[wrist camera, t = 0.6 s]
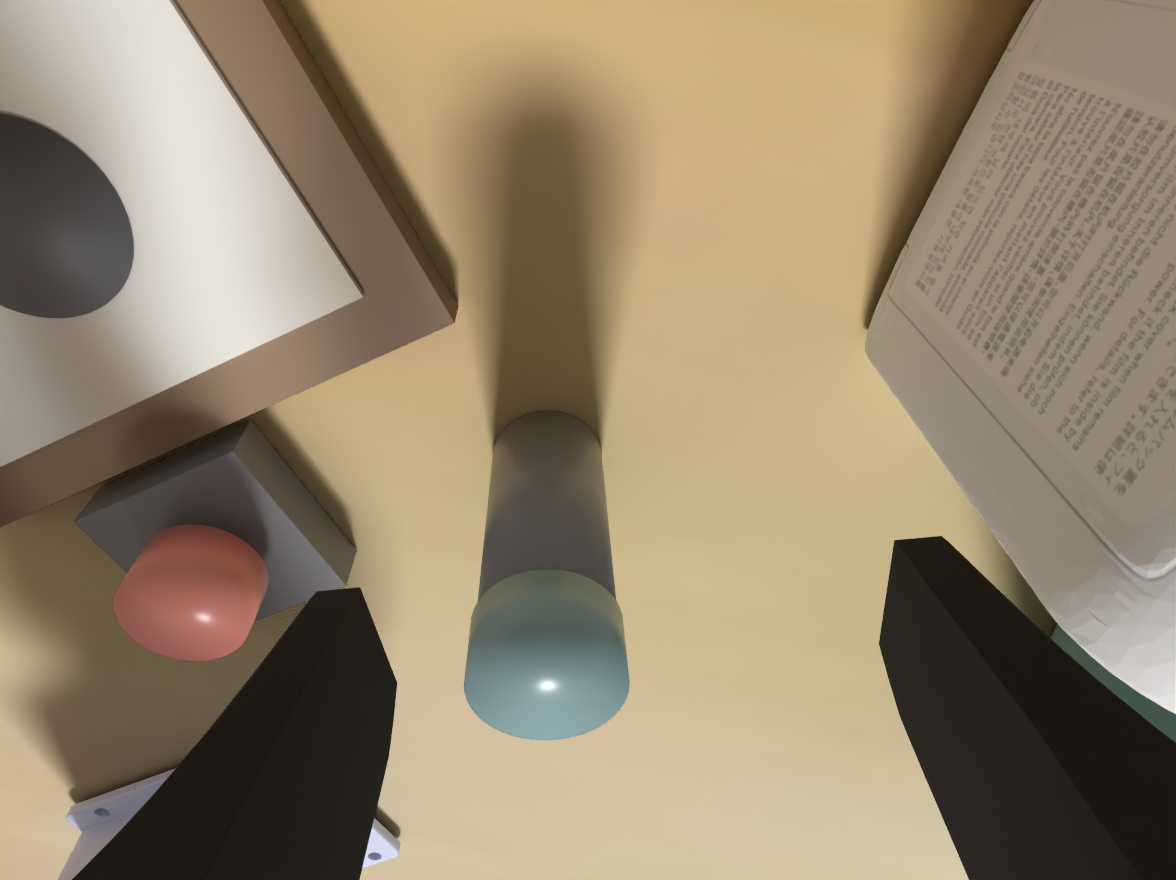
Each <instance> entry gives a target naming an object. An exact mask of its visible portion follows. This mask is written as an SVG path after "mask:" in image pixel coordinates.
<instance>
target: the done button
mask: <svg viewBox="0 0 1176 880" xmlns="http://www.w3.org/2000/svg"><path fill="white" fill-rule="evenodd" d="M268 582H269V578H268V572H267V568H266V566H265V563H264V562H263V560H262V558H261V557H260V555H259V554H258V553H257V552H256V551H255V550H254V549H253V548H252V547H251V546H250V545H249V544H248V543H246V542H245V541H244V540H242V539H240V538H239V537H237V536H235V535H233V534H231V533H229V532H227V531H224V530H222V529H218V528H215V527H210V526H205V525H179V526H174V527H170V528H167V529H165V530H163V531H161V532H159V533H157V534H156V535H154V536H153V537H152V538H151V539H150V540H149V541H148V542H147V544H146V545H145V547H144V548H143V550H142V551H141V553H140V554H139V556H138V557H137V559H136V561H135V562H134V564H133V565H132V567H131V568H130V570H129V571H128V573H127V574H126V576H125V578H124V579H123V581H122V582H121V584H120V585H119V587H118V588H117V590H116V593H115V595H114V600H113V609H114V614H115V616H116V619H117V621H118V623H119V624H120V626H121V627H122V629H123V630H124V631H125V632H126V633H127V634H128V635H129V636H130V637H131V638H132V639H133V640H134V641H136V642H137V643H138V644H140V645H141V646H143V647H145V648H147V649H148V650H150V651H152V652H155V653H157V654H159V655H162V656H165V657H169V658H173V659H177V660H183V661H209V660H214V659H218V658H221V657H224V656H227V655H229V654H231V653H232V652H234V651H236V650H237V649H238V648H239V647H240V646H241V645H242V644H243V643H244V642H245V640H246V638H247V636H248V634H249V632H250V629H251V627H252V625H253V622H254V620H255V617H256V615H257V613H258V610H259V608H260V606H261V603H262V601H263V598H264V596H265V594H266V591H267V588H268Z"/></svg>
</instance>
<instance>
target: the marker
mask: <svg viewBox="0 0 1176 880" xmlns="http://www.w3.org/2000/svg"><path fill="white" fill-rule="evenodd" d="M464 691H465V695H466V699H467V701H468V703H469V705H470V707H471V708H472V710H473V711H474V713H475V714H476V715H477V716H478V717H479V718H480V719H481V720H483V721H484V722H485V723H486V724H488V725H490V726H491V727H493V728H495V729H497V730H499V731H501V732H503V733H506V734H509V735H512V736H515V737H519V738H525V739H531V740H558V739H565V738H571V737H575V736H578V735H582V734H584V733H587V732H590V731H592V730H594V729H596V728H598V727H600V726H601V725H603V724H604V723H606V722H607V721H609V720H610V719H611V718H612V717H613V716H614V715H615V714H616V713H617V712H618V711H619V710H620V708H621V707H622V706H623V704H624V702H625V700H626V698H627V695H628V691H629V673H628V664H627V655H626V645H625V636H624V627H623V617H622V613H621V609H620V607H619V605H618V603H617V601H616V595H615V585H614V575H613V565H612V555H611V545H610V535H609V525H608V515H607V505H606V495H605V485H604V475H603V465H602V455H601V448H600V444H599V441H598V439H597V437H596V435H595V434H594V432H593V431H592V430H591V429H590V428H589V427H588V426H587V425H586V424H585V423H584V422H582V421H581V420H579V419H578V418H576V417H574V416H571V415H569V414H566V413H562V412H556V411H538V412H533V413H529V414H526V415H523V416H521V417H519V418H517V419H515V420H514V421H512V422H511V423H510V424H508V425H507V426H506V427H505V428H504V429H503V430H502V432H501V433H500V435H499V436H498V438H497V440H496V442H495V446H494V450H493V459H492V469H491V479H490V488H489V498H488V508H487V518H486V527H485V537H484V547H483V556H482V566H481V576H480V585H479V595H478V602H477V604H476V606H475V608H474V610H473V614H472V617H471V626H470V635H469V644H468V653H467V662H466V671H465V680H464Z"/></svg>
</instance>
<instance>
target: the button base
mask: <svg viewBox="0 0 1176 880" xmlns="http://www.w3.org/2000/svg"><path fill="white" fill-rule="evenodd" d="M74 522H75V523H76V524H77V525H78V526H79V527H80V528H81V529H82V530H83V531H84V532H85V533H86V534H87V535H88V536H89V537H90V538H91V539H92V540H93V541H94V542H96V543H97V544H98V545H99V546H100V547H101V548H102V549H103V550H104V551H105V552H106V553H107V554H108V555H109V556H110V557H111V558H112V559H113V560H114V561H115V562H116V563H117V564H118V565H119V566H121V567H122V568H123V569H124V570H125V571H126V572H127V573H128V571H129V570H130V568H131V567H132V565H133V564H134V562H135V561H136V559H137V557H138V556H139V554H140V553H141V551H142V550H143V548H144V547H145V545H146V544H147V542H148V541H149V540H150V539H151V538H152V537H153V536H154V535H156V534H157V533H159V532H161V531H163V530H165V529H167V528H170V527H174V526H179V525H205V526H210V527H215V528H218V529H222V530H224V531H227V532H229V533H231V534H233V535H235V536H237V537H239V538H240V539H242V540H244V541H245V542H246V543H248V544H249V545H250V546H251V547H252V548H253V549H254V550H255V551H256V552H257V553H258V554H259V555H260V557H261V558H262V560H263V562H264V563H265V566H266V568H267V572H268V578H269V582H268V588H267V591H266V594H265V596H264V598H263V601H262V603H261V606H260V608H259V610H258V613H257V615H256V617H255V620H254V621H256V620H259V619H261V618H264V617H266V616H269V615H272V614H274V613H277V612H279V611H282V610H284V609H287V608H290V607H292V606H295V605H297V604H300V603H302V602H305V601H307V600H310V599H311V598H312V596H313V595H314V594H315V593H316V592H317V591H327V590H336V589H338V588H341V587H343V586H346V584H347V581H348V577H349V574H350V571H351V567H352V564H353V561H354V557H355V554H356V551H357V550H356V549H355V548H354V546H353V545H352V544H351V543H350V542H349V540H348V539H347V538H346V537H345V535H344V534H343V533H342V532H341V530H340V529H339V528H338V527H337V525H336V524H335V523H334V522H333V521H332V519H331V518H330V517H329V516H328V514H327V513H326V512H325V511H324V509H323V508H322V507H321V506H320V504H319V503H318V502H317V501H316V500H315V498H314V497H313V496H312V495H311V493H310V492H309V491H308V490H307V488H306V487H305V486H304V485H303V483H302V482H301V481H300V480H299V479H298V477H297V476H296V475H295V474H294V472H293V471H292V470H291V469H290V467H289V466H288V465H287V464H286V462H285V461H284V460H283V459H282V458H281V456H280V455H279V454H278V453H277V451H276V450H275V449H274V448H273V446H272V445H271V444H270V443H269V442H268V440H267V439H266V438H265V437H264V435H263V434H262V433H261V432H260V430H259V429H258V428H257V427H256V425H255V424H254V423H253V422H252V421H251V420H250V421H248V422H246V423H244V424H241V425H239V426H237V427H235V428H232V429H230V430H228V431H226V432H223V433H221V434H219V435H217V436H215V437H212V438H210V439H208V440H206V441H203V442H201V443H199V444H197V445H194V446H192V447H190V448H188V449H186V450H183V451H181V452H179V453H177V454H174V455H172V456H170V457H168V458H165V459H163V460H161V461H159V462H157V463H154V464H152V465H150V466H148V467H145V468H143V469H141V470H139V471H136V472H134V473H132V474H130V475H128V476H125V477H123V478H121V479H119V480H116V481H114V482H112V483H110V484H107V485H105V486H103V487H101V488H100V489H99V490H98V491H97V493H96V494H95V495H94V497H93V498H92V499H91V500H90V502H89V503H88V504H87V505H86V507H85V508H84V509H83V510H82V512H81V513H80V514H79V516H78V517H77V518H76V519H75V521H74Z"/></svg>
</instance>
